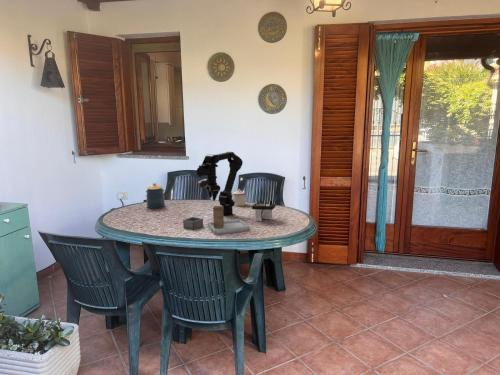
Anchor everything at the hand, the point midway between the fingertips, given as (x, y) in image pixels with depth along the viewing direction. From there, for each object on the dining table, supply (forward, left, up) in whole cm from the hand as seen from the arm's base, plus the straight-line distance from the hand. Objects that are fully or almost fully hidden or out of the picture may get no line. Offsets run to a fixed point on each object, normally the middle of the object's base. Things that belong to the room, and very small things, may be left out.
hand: (212, 199), depth 242 cm
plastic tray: (-3, +24, -13) cm, 27 cm away
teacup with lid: (-27, -33, -13) cm, 45 cm away
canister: (+30, -51, -13) cm, 61 cm away
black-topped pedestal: (-29, +14, -14) cm, 35 cm away
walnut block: (+2, +22, -12) cm, 25 cm away
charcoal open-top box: (+15, +12, -13) cm, 23 cm away
